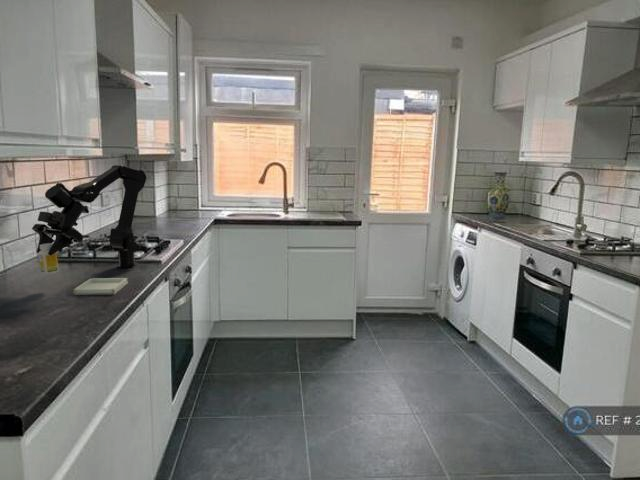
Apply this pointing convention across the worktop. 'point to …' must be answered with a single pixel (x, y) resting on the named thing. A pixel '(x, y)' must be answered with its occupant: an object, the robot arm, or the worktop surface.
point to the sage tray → (101, 286)
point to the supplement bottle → (47, 260)
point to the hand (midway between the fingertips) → (43, 253)
